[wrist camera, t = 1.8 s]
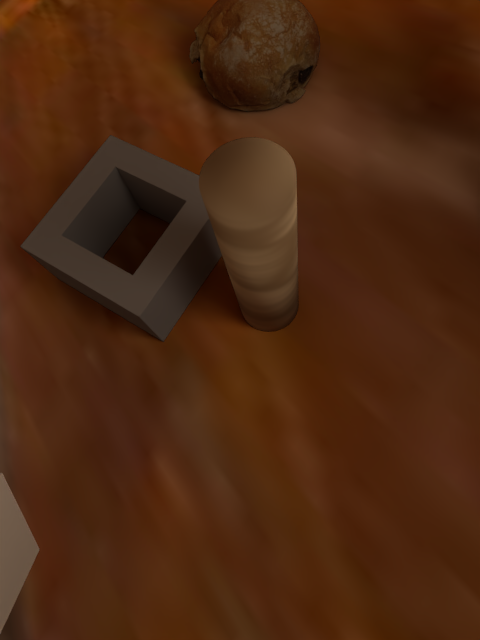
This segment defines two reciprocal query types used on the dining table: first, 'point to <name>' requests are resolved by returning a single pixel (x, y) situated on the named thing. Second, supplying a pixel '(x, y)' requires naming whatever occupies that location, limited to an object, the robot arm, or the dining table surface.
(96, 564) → the dining table surface
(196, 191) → the socket
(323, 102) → the dining table surface
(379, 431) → the dining table surface
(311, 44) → the bread roll
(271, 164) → the dowel
